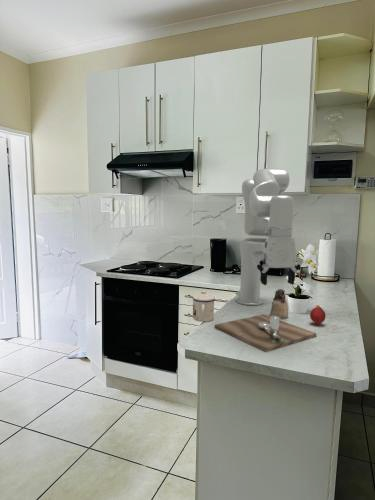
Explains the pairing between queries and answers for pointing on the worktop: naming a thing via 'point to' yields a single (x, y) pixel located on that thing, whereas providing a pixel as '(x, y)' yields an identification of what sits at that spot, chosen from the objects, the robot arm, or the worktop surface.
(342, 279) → the worktop surface
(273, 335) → the dial lever
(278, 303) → the tan brown ceramic jug
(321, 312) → the onion
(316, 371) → the worktop surface
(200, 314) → the teacup with lid
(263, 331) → the wooden cutting board
